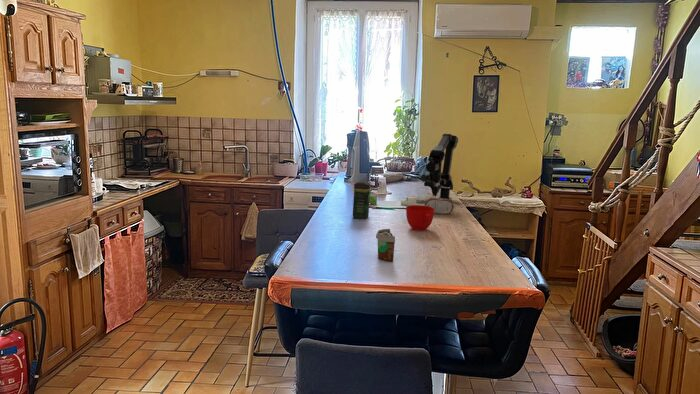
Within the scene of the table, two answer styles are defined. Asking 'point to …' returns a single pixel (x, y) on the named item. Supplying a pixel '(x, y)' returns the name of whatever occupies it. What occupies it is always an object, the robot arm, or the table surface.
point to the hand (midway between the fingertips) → (434, 197)
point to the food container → (385, 245)
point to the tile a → (412, 199)
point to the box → (405, 202)
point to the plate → (419, 199)
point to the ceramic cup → (419, 216)
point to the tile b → (429, 196)
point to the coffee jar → (361, 199)
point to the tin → (440, 205)
